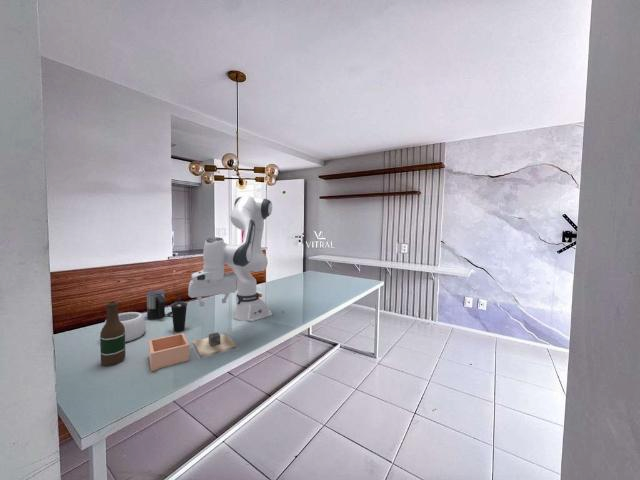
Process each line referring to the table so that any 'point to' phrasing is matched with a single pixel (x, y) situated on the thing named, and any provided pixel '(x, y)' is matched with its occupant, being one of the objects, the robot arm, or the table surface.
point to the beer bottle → (112, 337)
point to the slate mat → (210, 355)
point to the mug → (132, 325)
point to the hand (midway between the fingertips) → (213, 304)
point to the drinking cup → (179, 314)
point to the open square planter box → (168, 351)
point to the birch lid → (214, 344)
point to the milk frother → (156, 305)
